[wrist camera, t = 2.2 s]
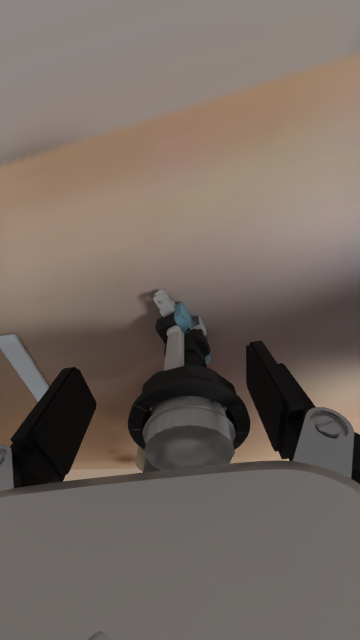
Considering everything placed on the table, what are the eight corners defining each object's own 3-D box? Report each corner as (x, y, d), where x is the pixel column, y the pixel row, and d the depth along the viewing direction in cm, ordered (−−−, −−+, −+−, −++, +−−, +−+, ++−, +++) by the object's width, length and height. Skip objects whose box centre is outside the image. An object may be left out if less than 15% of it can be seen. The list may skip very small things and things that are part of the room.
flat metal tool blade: (15, 333, 17) (13, 334, 17) (75, 427, 23) (74, 429, 23) (-6, 336, 17) (-8, 337, 17) (59, 428, 23) (58, 430, 23)
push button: (132, 304, 16) (66, 417, 7) (190, 270, 14) (201, 356, 6) (175, 361, 18) (168, 496, 10) (228, 337, 17) (276, 467, 8)
